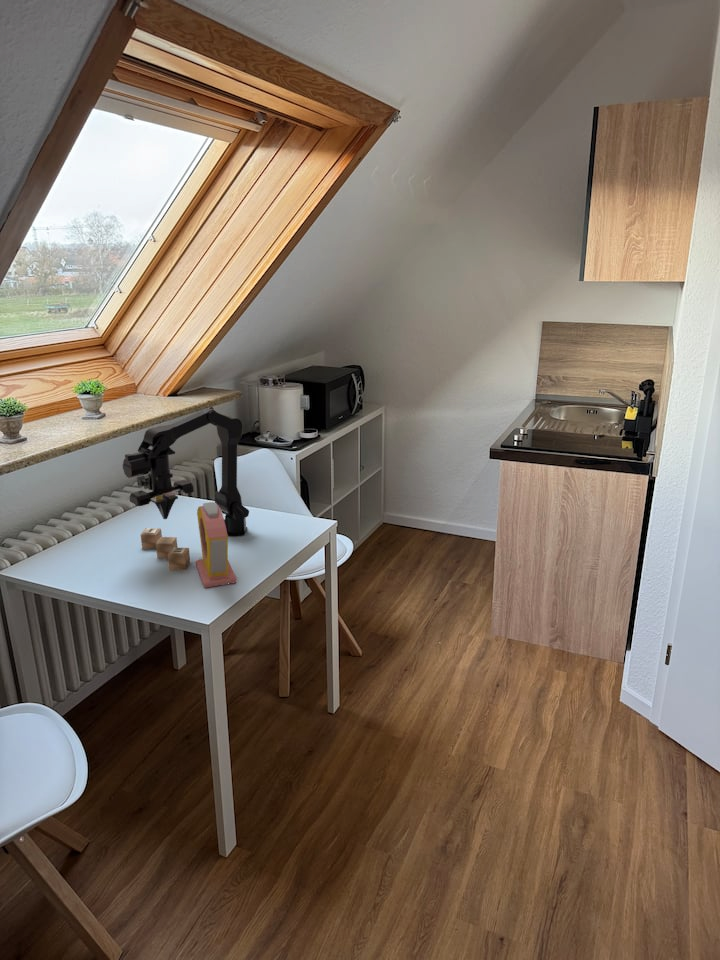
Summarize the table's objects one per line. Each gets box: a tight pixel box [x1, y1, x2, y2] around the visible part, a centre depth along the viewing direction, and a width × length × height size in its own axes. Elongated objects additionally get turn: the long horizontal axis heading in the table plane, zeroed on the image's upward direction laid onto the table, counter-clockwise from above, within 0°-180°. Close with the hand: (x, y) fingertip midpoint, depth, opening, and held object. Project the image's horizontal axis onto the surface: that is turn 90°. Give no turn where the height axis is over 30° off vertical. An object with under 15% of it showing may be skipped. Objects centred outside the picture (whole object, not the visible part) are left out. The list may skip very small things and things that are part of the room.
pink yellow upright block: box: [195, 501, 238, 589], centre depth 200 cm, size 22×9×22 cm, turn 21°
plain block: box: [155, 536, 179, 559], centre depth 215 cm, size 5×5×5 cm
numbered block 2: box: [167, 547, 191, 571], centre depth 207 cm, size 5×5×5 cm
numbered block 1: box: [140, 527, 163, 550], centre depth 222 cm, size 5×5×5 cm
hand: (165, 518), depth 212 cm, fingers closed
